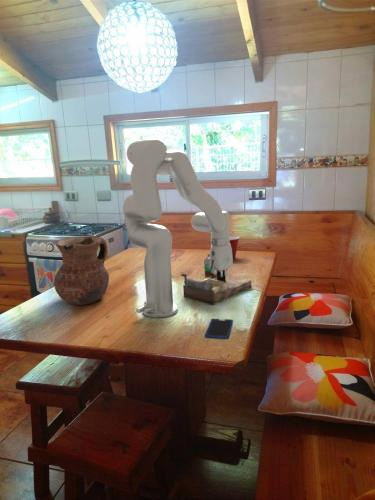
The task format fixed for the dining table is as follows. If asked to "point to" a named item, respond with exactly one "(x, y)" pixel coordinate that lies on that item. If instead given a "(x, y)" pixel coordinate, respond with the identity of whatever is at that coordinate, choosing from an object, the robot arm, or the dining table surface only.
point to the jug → (82, 270)
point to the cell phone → (219, 328)
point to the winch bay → (211, 294)
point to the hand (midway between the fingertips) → (221, 284)
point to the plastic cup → (234, 245)
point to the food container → (208, 269)
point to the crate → (217, 285)
